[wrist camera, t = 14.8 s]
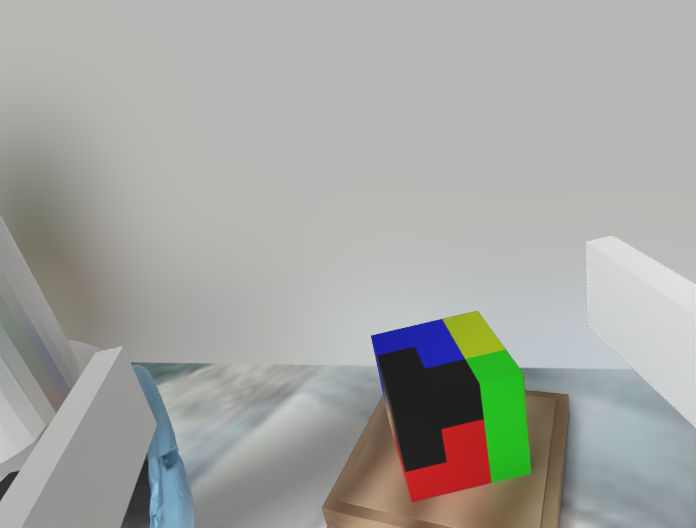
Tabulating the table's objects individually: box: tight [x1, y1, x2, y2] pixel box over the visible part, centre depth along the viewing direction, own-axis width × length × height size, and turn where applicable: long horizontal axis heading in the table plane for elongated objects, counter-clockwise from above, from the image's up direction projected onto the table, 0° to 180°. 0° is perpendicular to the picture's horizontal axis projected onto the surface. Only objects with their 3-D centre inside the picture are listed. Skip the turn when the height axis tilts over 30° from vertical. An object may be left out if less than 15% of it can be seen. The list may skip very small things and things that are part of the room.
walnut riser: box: [322, 390, 569, 528], centre depth 47 cm, size 18×18×3 cm
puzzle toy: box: [371, 311, 531, 502], centre depth 45 cm, size 10×10×10 cm
